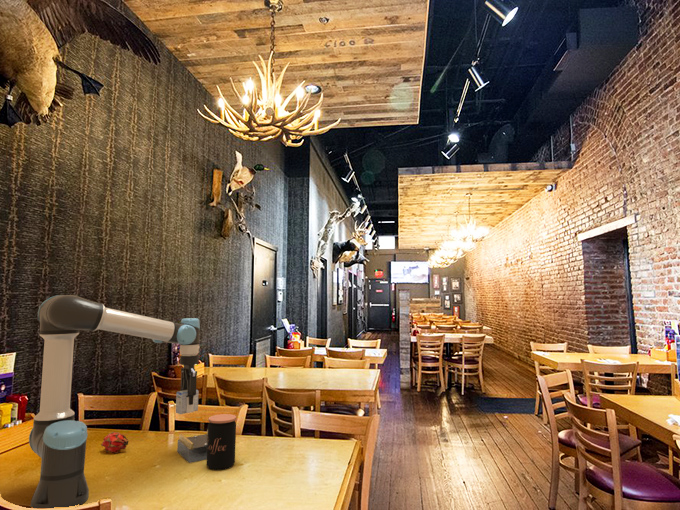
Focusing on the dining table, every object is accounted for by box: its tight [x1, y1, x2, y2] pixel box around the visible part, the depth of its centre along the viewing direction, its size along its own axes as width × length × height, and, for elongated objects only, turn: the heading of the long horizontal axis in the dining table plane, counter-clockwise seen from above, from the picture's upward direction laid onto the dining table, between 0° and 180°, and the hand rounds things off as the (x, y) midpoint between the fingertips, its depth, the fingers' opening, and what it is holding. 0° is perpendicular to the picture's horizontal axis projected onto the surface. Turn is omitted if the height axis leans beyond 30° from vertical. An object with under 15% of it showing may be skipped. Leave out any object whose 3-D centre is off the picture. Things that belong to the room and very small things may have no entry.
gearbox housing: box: [176, 429, 208, 464], centre depth 177 cm, size 16×17×7 cm
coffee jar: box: [206, 413, 237, 471], centre depth 164 cm, size 11×11×18 cm
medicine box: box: [175, 389, 200, 415], centre depth 178 cm, size 8×4×9 cm, turn 140°
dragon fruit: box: [101, 431, 130, 454], centre depth 179 cm, size 8×8×12 cm
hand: (187, 411), depth 177 cm, fingers closed on medicine box, 5 cm apart
